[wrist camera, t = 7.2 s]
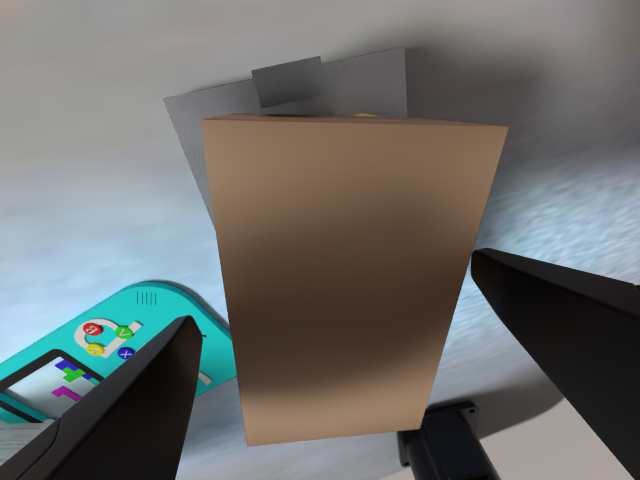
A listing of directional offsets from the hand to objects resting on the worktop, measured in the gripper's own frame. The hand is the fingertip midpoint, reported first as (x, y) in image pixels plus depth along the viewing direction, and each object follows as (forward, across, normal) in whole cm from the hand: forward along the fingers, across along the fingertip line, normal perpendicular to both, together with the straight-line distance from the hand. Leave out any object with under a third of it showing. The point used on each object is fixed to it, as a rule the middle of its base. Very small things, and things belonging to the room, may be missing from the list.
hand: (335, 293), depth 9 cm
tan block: (+2, 0, 0) cm, 3 cm away
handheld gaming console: (+7, +14, +7) cm, 17 cm away
